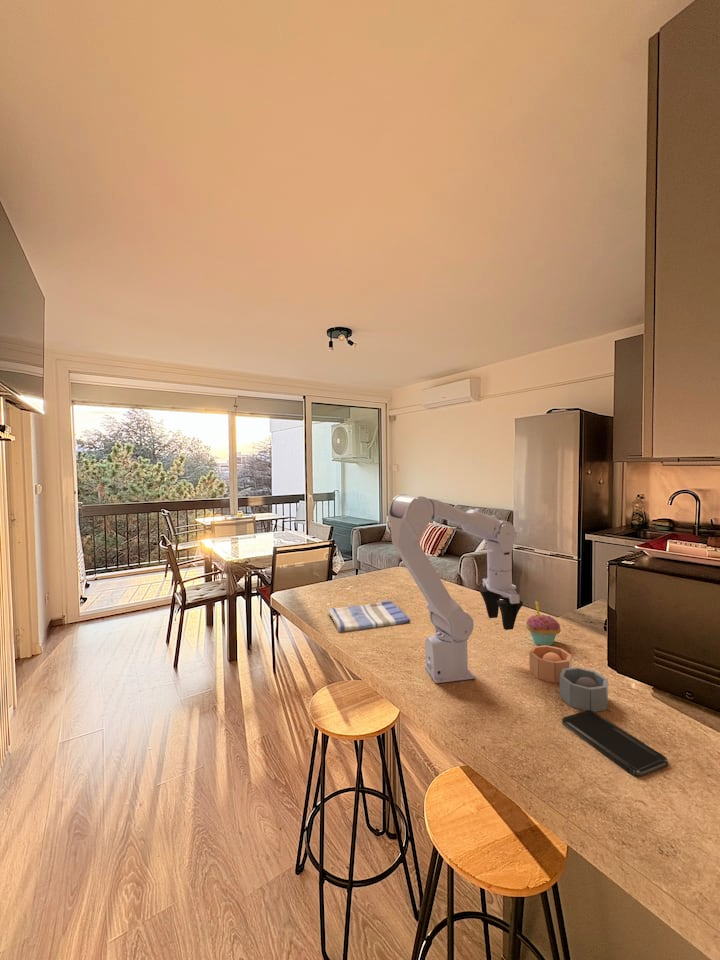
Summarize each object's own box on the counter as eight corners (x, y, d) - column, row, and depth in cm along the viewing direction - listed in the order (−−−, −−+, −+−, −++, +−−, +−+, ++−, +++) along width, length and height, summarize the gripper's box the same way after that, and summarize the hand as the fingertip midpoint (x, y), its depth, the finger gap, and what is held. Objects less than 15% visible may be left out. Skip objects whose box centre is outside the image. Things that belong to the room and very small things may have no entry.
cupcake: (540, 651, 106) (539, 605, 106) (519, 638, 115) (518, 595, 114) (567, 646, 109) (567, 601, 108) (545, 633, 117) (544, 592, 116)
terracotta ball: (547, 678, 93) (551, 663, 91) (536, 663, 97) (540, 649, 96) (564, 676, 94) (569, 662, 92) (553, 661, 98) (557, 647, 96)
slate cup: (579, 713, 80) (579, 691, 80) (552, 690, 88) (552, 669, 88) (617, 708, 81) (617, 686, 81) (587, 686, 89) (587, 665, 89)
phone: (636, 774, 63) (559, 718, 77) (636, 781, 63) (559, 724, 77) (671, 760, 66) (590, 708, 80) (671, 767, 66) (590, 714, 80)
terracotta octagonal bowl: (544, 684, 91) (544, 664, 90) (523, 666, 99) (523, 647, 99) (579, 679, 92) (579, 660, 92) (555, 662, 100) (555, 644, 100)
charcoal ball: (580, 707, 82) (587, 694, 80) (567, 686, 86) (574, 673, 84) (599, 704, 83) (607, 691, 81) (586, 684, 87) (593, 671, 85)
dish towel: (326, 614, 139) (326, 606, 138) (393, 606, 144) (392, 598, 144) (336, 634, 122) (336, 625, 122) (411, 625, 128) (411, 616, 127)
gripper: (531, 575, 95) (532, 633, 95) (499, 560, 109) (500, 611, 109) (502, 577, 94) (503, 636, 94) (474, 562, 108) (475, 613, 108)
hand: (500, 623), depth 102 cm, fingers open, 7 cm apart
